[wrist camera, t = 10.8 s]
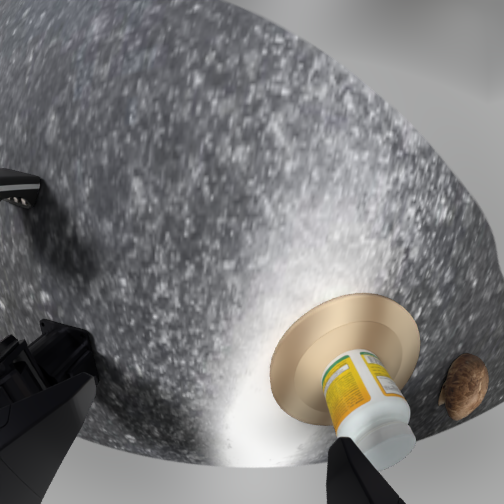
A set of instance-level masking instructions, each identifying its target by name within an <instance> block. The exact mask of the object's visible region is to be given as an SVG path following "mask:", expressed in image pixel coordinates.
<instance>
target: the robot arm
mask: <svg viewBox="0 0 504 504" xmlns="http://www.w3.org/2000/svg"><path fill="white" fill-rule="evenodd" d="M40 327H41V331H42V335H41V336H40V337H39V338H37V339H36V340H35V341H34V342H32V343H31V344H30V345H28V344H27V343H26V341H25V339H24V340H20V341H18V339H16V338H15V337H14V336H13V335H12V334H11V335H8V336H7V337H5V338H4V339H3V340H1V341H0V504H41V502H42V499H43V497H44V495H45V493H46V491H47V489H48V487H49V485H50V484H51V482H52V480H53V478H54V476H55V474H56V472H57V470H58V468H59V466H60V465H61V463H62V461H63V459H64V457H65V455H66V454H67V452H68V450H69V448H70V447H71V445H72V443H73V441H74V440H75V438H76V436H77V434H78V433H79V431H80V429H81V427H82V425H83V423H84V421H85V418H86V416H87V414H88V411H89V409H90V407H91V405H92V402H93V400H94V398H95V395H96V386H95V385H97V384H98V383H99V378H98V374H97V370H96V366H95V361H94V357H93V353H92V349H91V345H90V340H89V335H88V333H87V331H86V330H84V329H80V328H76V327H72V326H68V325H64V324H61V323H57V322H53V321H50V320H47V319H42V320H40ZM27 345H28V346H27ZM326 491H327V504H406V503H405V502H404V501H403V500H402V499H401V498H399V495H398V494H397V493H396V492H395V491H394V490H393V488H392V487H391V486H390V485H389V484H388V483H387V481H386V480H385V479H384V478H383V477H382V476H381V474H380V473H379V472H378V471H377V470H376V468H375V467H374V466H373V465H372V464H371V462H370V461H369V460H368V459H367V457H366V456H365V455H364V454H363V453H362V451H361V450H360V449H359V448H358V446H357V445H356V444H355V443H354V441H353V440H352V439H351V438H350V437H339V438H337V440H336V441H335V442H334V443H333V444H332V446H331V447H330V448H329V451H328V465H327V480H326Z"/></svg>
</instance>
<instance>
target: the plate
mask: <svg viewBox="0 0 504 504" xmlns="http://www.w3.org/2000/svg"><path fill="white" fill-rule="evenodd" d="M354 349H364V350H368V351H370V352H372V353H374V354H375V355H376V356H377V357H378V359H379V360H380V361H381V363H382V364H383V366H384V367H385V369H386V370H387V372H388V374H389V375H390V377H391V378H392V380H393V381H394V383H395V384H396V386H397V387H398V389H399V390H400V391H401V389H402V388H403V387H404V386H405V384H406V383H407V382H408V380H409V378H410V377H411V375H412V373H413V371H414V369H415V366H416V363H417V360H418V357H419V352H420V335H419V331H418V327H417V325H416V323H415V321H414V319H413V318H412V316H411V315H410V314H409V313H408V312H407V311H406V310H405V309H404V308H403V307H402V306H401V305H399V304H398V303H397V302H395V301H393V300H392V299H390V298H387V297H385V296H381V295H378V294H371V293H355V294H349V295H344V296H340V297H337V298H333V299H331V300H329V301H326V302H324V303H322V304H320V305H318V306H316V307H314V308H313V309H311V310H310V311H308V312H307V313H305V314H304V315H303V316H301V317H300V318H299V319H298V320H297V321H296V322H295V323H293V325H292V326H291V327H290V328H289V329H288V330H287V331H286V332H285V334H284V335H283V337H282V338H281V339H280V341H279V343H278V345H277V347H276V348H275V351H274V354H273V356H272V360H271V365H270V383H271V390H272V393H273V396H274V398H275V400H276V402H277V404H278V405H279V406H280V407H281V409H282V410H284V411H285V412H286V413H287V414H288V415H290V416H291V417H293V418H295V419H297V420H299V421H302V422H305V423H308V424H313V425H323V426H328V425H333V422H332V419H331V416H330V412H329V409H328V406H327V402H326V399H325V396H324V392H323V389H322V385H321V378H322V374H323V372H324V370H325V368H326V367H327V365H328V364H329V363H330V362H331V361H332V360H334V359H335V358H336V357H337V356H339V355H340V354H342V353H344V352H347V351H350V350H354Z"/></svg>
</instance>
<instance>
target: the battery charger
mask: <svg viewBox="0 0 504 504" xmlns="http://www.w3.org/2000/svg"><path fill="white" fill-rule="evenodd" d="M39 183H40V177H38V176H35V175H31V174H27V173H23V172H19V171H15V170H10V169H6V168H0V201H1V200H4V201H7V202H9V203H12V204H15V205H17V206H20V207H23V208H31V207H33V206H34V204H35V202H36V199H37V195H38V189H39V188H40V184H39Z"/></svg>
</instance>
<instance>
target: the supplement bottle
mask: <svg viewBox="0 0 504 504" xmlns="http://www.w3.org/2000/svg"><path fill="white" fill-rule="evenodd" d="M321 385H322V389H323V392H324V396H325V399H326V402H327V406H328V409H329V412H330V416H331V419H332V422H333V426H334V429H335V432H336V436H337V438H339V437H350V438H351V439H352V440H353V441H354V443H355V444H356V445H357V446H358V448H359V449H360V450H361V451H362V453H363V454H364V455H365V456H366V457H367V459H368V460H369V461H370V462H371V464H372V465H373V466H374V467H375V468H376V470H377V471H381V470H385V469H387V468H389V467H391V466H393V465H395V464H397V463H398V462H400V461H401V460H403V459H404V458H405V457H406V456H407V455H408V454H409V453H410V452H411V451H412V449H413V448H414V446H415V444H416V438H415V436H414V434H413V432H412V430H411V428H410V426H409V425H408V422H409V419H410V407H409V405H408V403H407V401H406V400H405V398H404V396H403V395H402V393H401V392H400V390H399V389H398V387H397V386H396V384H395V383H394V381H393V380H392V378H391V377H390V375H389V374H388V372H387V370H386V369H385V367H384V366H383V364H382V363H381V361H380V360H379V359H378V357H377V356H376V355H375V354H374V353H372V352H370V351H368V350H364V349H354V350H350V351H347V352H344V353H342V354H340V355H339V356H337V357H336V358H335V359H334V360H332V361H331V362H330V363H329V364H328V365H327V367H326V368H325V370H324V372H323V374H322V378H321Z"/></svg>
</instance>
